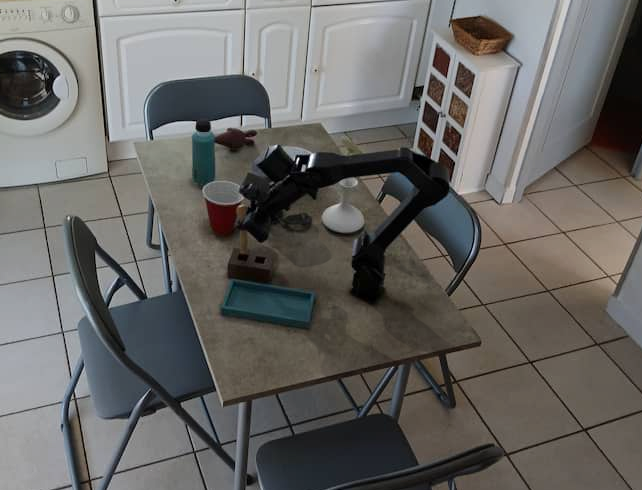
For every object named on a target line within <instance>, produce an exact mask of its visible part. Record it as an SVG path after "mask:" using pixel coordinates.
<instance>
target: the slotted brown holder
mask: <svg viewBox="0 0 642 490" xmlns="http://www.w3.org/2000/svg"><path fill="white" fill-rule="evenodd" d="M275 256H276V255H275V253H268V252H264V251H263V252H262V251H257V250H250V249H247V254H241V248H239V247H233V248H232V251H231V253H230V256H229V259H228V262H227V278H230V279H237V280H243V281H249V282H255V283H261V284H267V285H270V282H271V279H272V276H273V272H274V268H275V258H276V257H275Z"/></svg>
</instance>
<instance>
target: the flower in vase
mask: <svg viewBox="0 0 642 490" xmlns="http://www.w3.org/2000/svg"><path fill="white" fill-rule="evenodd" d="M340 139H341V143H342V144H343V146H344V147H345V149H346V150H347V154H346V156H349V155H357V154H364V153H363V149H362V148H360V147H359V146H358V145H356V141H355V140H351V139H350V138H349V136H348V135H346V136H344V135H343V136H341V138H340ZM338 184H339V185H340V186H341V200H340V202H339V203H336V204H333V205H330V206H329V207H327V208H326V209H324V211H323V213H322V214H321V221H322V223H323V224H324V225H325V226H326V227H327V229H329V230H331V231H333V232H336V233H340V234H351V233H355V232H357V231H359V230H360V229H362V228H363V226H364V225H365V217H364V215H363V214H362V212H361V211H360V210H359V209H358V208H356V207H355V206H354V205H352V204H351V197H352V193H353V191H354V189H355V188H356V187H357V186H358V185H359V182H358V180H357V178H356V177H353V178H347V179H343V180H341V181H340V182H338Z"/></svg>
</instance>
